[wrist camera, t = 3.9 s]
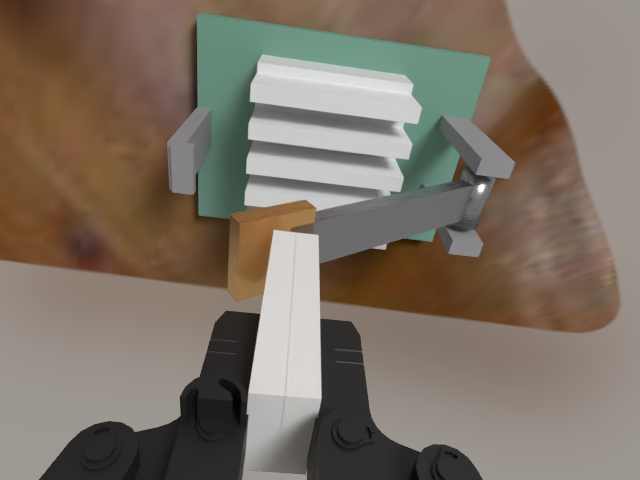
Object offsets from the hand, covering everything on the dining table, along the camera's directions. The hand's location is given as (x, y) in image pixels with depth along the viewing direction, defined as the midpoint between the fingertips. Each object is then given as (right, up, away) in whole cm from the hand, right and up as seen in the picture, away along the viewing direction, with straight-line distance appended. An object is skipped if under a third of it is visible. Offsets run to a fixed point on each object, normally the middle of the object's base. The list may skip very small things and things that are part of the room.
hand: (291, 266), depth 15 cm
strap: (+3, +2, +4) cm, 6 cm away
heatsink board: (+2, +7, +12) cm, 14 cm away
